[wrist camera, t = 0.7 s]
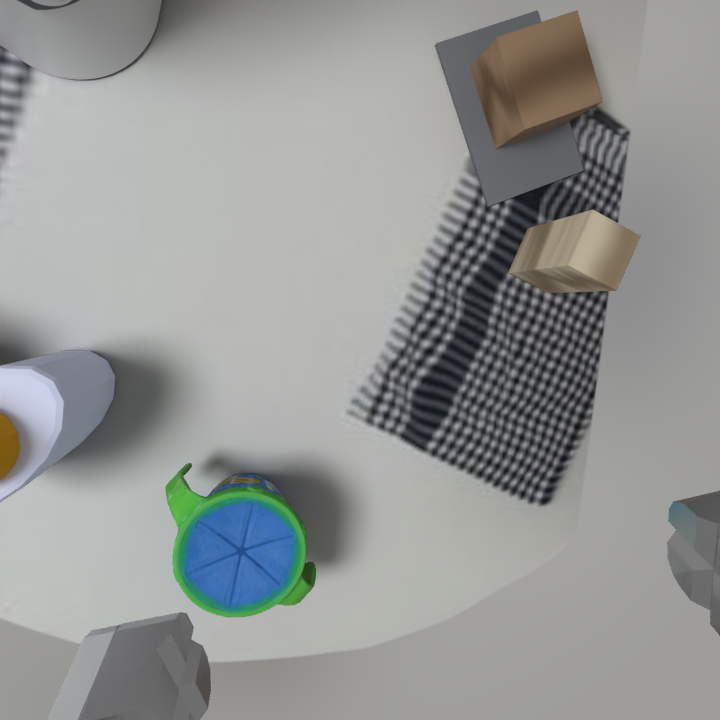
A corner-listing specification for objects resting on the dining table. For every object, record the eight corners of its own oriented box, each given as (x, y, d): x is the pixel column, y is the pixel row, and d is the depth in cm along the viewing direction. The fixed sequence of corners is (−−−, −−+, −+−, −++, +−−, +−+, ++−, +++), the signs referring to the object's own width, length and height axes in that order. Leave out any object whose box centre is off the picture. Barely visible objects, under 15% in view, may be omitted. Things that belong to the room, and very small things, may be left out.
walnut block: (469, 67, 52) (496, 37, 46) (542, 43, 53) (577, 10, 47) (495, 149, 53) (524, 129, 47) (565, 123, 54) (602, 101, 48)
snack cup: (146, 489, 51) (118, 534, 41) (231, 415, 51) (224, 441, 41) (257, 598, 54) (256, 664, 44) (336, 526, 54) (353, 576, 44)
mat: (435, 45, 51) (436, 43, 51) (535, 12, 53) (537, 10, 52) (487, 207, 54) (489, 206, 53) (581, 171, 55) (583, 170, 55)
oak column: (508, 273, 55) (568, 265, 44) (527, 228, 55) (592, 209, 44) (548, 293, 56) (616, 290, 45) (567, 249, 56) (640, 236, 45)
